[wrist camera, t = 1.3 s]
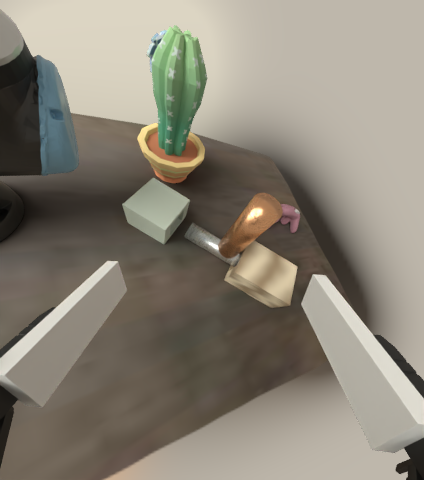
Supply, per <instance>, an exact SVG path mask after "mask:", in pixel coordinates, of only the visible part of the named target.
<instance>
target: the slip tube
mask: <svg viewBox="0 0 424 480" xmlns="http://www.w3.org/2000/svg"><path fill="white" fill-rule="evenodd" d="M282 213H283V210H282V207H281V205H280V203H279V202H278V200H277V199H276V198H274V197H273V196H271V195H269V194H267V193H258V194H256V195H255V196H254V197H253V199H252V200H251V201H250V203H249V204H248V205H247V207H246V208H245V209H244V210H243V212H242V213H241V214H240V216H239V217H238V218H237V220H236V221H235V222H234V224H233V225H232V226H231V228H230V229H229V230H228V232H227V233H226V234H225V235H224V237H223V238H222V239H219V238H218V237H216V236H214V235H213V234H211V233H209V232H208V231H206V230H204V229H203V228H201V227H199V226H198V225H196V224H194V223H192V224H191V226H190V227H189V229H188V230H187V232H186V234H185V238H187V239H188V240H190V241H192V242H193V243H195V244H197V245H198V246H200V247H202V248H203V249H205V250H207V251H208V252H210V253H212V254H213V255H215V256H217V257H218V258H220V259H222V260H223V261H225V262H227V263H228V264H230V265H232V266H233V267H235V266H237V264H238V262H239V260H240V257H241V255H242V252H241V251H242V250H244V249H245V248H246V247H247V246H248V245H249V244H250V243H252V242H253V241H254V240H255V239H256V238H257V237H259V236H260V235H261V234H262V233H263V232H264V231H266V230H267V229H268V228H269V227H270V226H271V225H272V224H274V223H275V222H276V221H277V220H278V219H279V218H281V216H282Z"/></svg>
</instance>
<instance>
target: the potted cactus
mask: <svg viewBox="0 0 424 480" xmlns="http://www.w3.org/2000/svg"><path fill="white" fill-rule="evenodd" d="M151 41H152V43H151V44H150V46H149V49H148V52H147V56H148V57H150V56H151V57H150V72H151V73H152V78H153V91H154V96H155V100H156V104H157V108H158V123H154V124H151V125H149V126H146V127H144V128H142V130H141V132H140V134H139V136H138V138H137V139H138V142H139V145H140V147H141V149H142V152H143V154H144V156H145V158H147V159H148V160H149V162H150V164H151V166H152V167H153V168H154V171H155V173H156V176H157V177H159V178H160V179H161V180H163V181H165V182H169V183H180V182H182V181H183V180H185V179H186V177H187V175H188V174H189V173H190V172H192V171H193V170H194V169H195V168H196V167H197V166H198V165H200V164H201V163H202V161H203V159H204V153H205V147H204V146H203V144H202V142H201V141H200V139H199V138H198V137H197V136H196V135H194V134H193V133H191V132H190V128H191V124H192V121H193V118H194V116H195V114H196V112H197V110H198V108H199V106H200V105H201V101H202V97H203V93H204V89H205V85H206V81H207V75H206V69H205V64H204V60H203V57H202V53H201V49H200V45H199V41H198V38H197V37H195V38H193V37H191V33H190V31H188V30H187V31H185V32H184V34H183V33H182V32H181V31H180V29H179V28H178V27H177V26H174V28H173V29H172V28H171V27H170V28H169V29H168V31H166V30H164V31H161V32H160V34H158V33H157V34H155V35H154V37H153V38H152V39H151Z"/></svg>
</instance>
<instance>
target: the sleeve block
mask: <svg viewBox="0 0 424 480" xmlns="http://www.w3.org/2000/svg"><path fill="white" fill-rule="evenodd" d="M241 252H242V255H241V257H240V260H239V262H238V264H237V266H235V267H233V266H232V265H231V266H230V268H229V270H228V272H227V274H226V277H225V279H224V280H225V281H227V282H228V283H230V284H232V285H233V286H235V287H237V288H238V289H240V290H242V291H243V292H245V293H247V294H248V295H250V296H252V297H253V298H255V299H257V300H258V301H260V302H262V303H263V304H265V305H267V306H268V307H270V308H275V307H282V306H289V305H290V303H291V298H292V293H293V288H294V282H295V277H296V272H297V266H296V265H294V264H292V263H291V262H289V261H287V260H286V259H284V258H282V257H281V256H279V255H277V254H276V253H274V252H272V251H271V250H269V249H268V248H266V247H264V246H263V245H261V244H259V243H258V242H256V241H253V242H252V243H250V244H249V245H248V246H247V247H246V248H245V249H244V250H242V251H241Z"/></svg>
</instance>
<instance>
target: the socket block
mask: <svg viewBox="0 0 424 480" xmlns="http://www.w3.org/2000/svg"><path fill="white" fill-rule="evenodd" d="M189 203H190V200H189V199H188V198H186V197H184V196H183V195H181V194H179V193H178V192H176V191H174V190H173V189H171V188H169V187H168V186H166V185H165V184H163V183H161V182H160V181H158V180H156V179H155V178H152V179H151V180H150V181H149V182H148V183H146V184H145V185H144V186H143V187H142V188H141V189H139V190H138V191H137V192H136V193H135V194H134V195H133V196H131V197H130V198H129V199H128V200H127V201H126V202H125V203H123V204H122V205H123V209H124V212H125V215H126V219H127V222H128V223H129V224H130V225H132V226H134V227H135V228H137V229H139V230H141V231H142V232H144V233H146V234H147V235H149V236H151V237H152V238H154V239H156V240H157V241H159V242H161V243H162V244H165V243H166V242H167V240H168V239H169V238H170V236H171V235H172V234H173V233H174V231H175V230H176V229H177V227H178V226H179V225H180V224H181V222H182V221H183V220H184V218H185V217H186V214H187V210H188V206H189Z"/></svg>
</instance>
